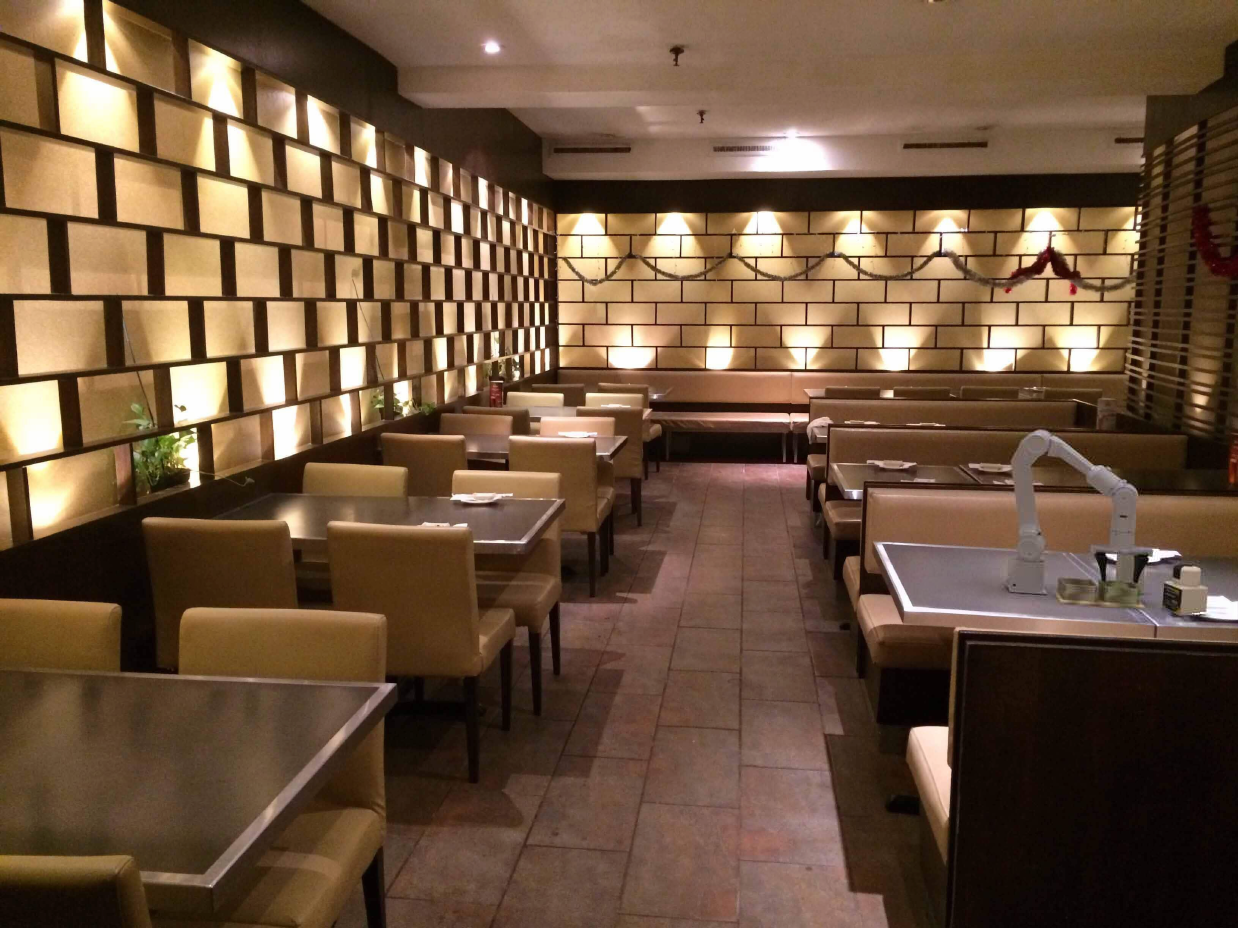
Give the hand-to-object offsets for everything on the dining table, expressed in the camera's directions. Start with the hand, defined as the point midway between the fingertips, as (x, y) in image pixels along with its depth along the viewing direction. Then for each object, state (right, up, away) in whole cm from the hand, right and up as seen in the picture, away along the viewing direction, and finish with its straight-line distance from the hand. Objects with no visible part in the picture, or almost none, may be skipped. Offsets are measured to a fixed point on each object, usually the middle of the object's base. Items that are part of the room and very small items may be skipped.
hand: (1119, 581), depth 256 cm
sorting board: (-5, -5, +1) cm, 7 cm away
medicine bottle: (+12, -7, -9) cm, 16 cm away
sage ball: (0, -2, 0) cm, 2 cm away
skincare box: (+8, -4, +10) cm, 13 cm away
